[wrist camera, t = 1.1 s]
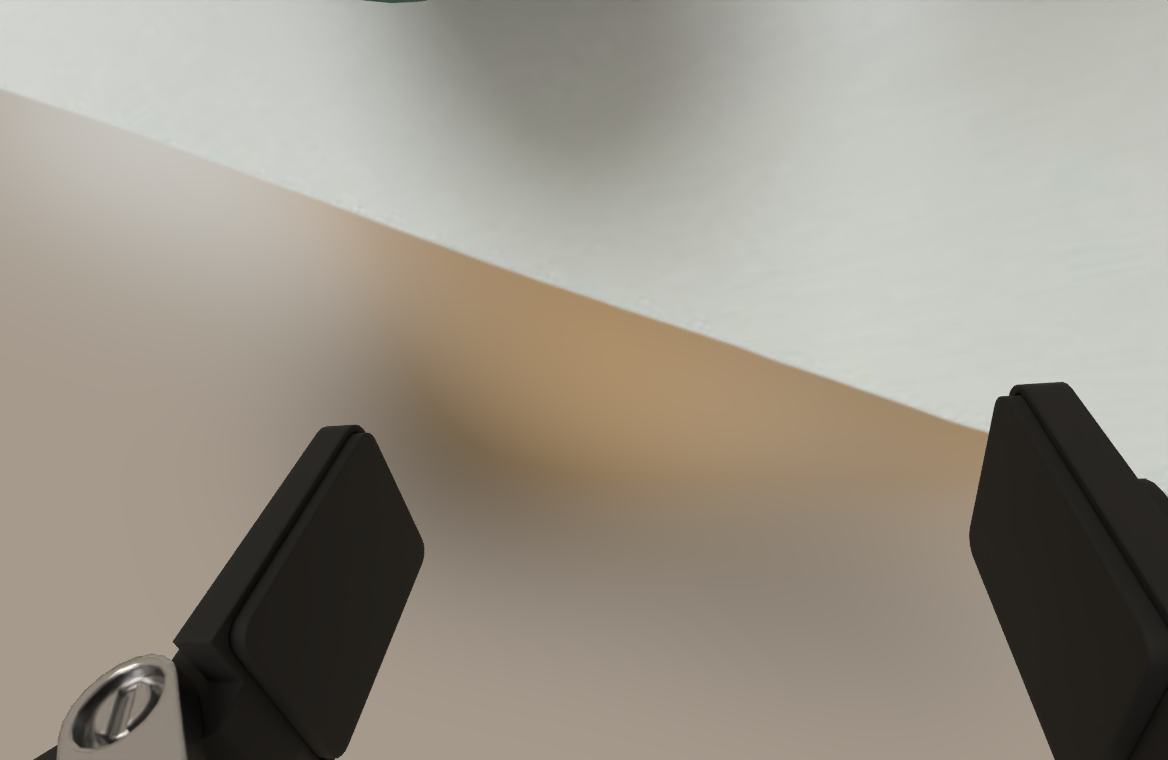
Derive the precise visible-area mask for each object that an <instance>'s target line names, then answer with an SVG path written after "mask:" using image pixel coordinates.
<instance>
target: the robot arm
mask: <svg viewBox="0 0 1168 760" xmlns="http://www.w3.org/2000/svg"><path fill="white" fill-rule="evenodd" d="M969 538H970V539H969V540H970V547H971V551H972V555H973V558H974V560H975V563H976V565H977V568H978V570H979V573H980V575H981V578H982V580H983V583H984V585H985V588H986V590H987V593H988V595H989V597H990V600H991V602H992V605H993V608H994V610H995V612H996V615H997V617H998V620H999V622H1000V625H1001V627H1002V630H1003V632H1004V635H1005V637H1006V640H1007V642H1008V644H1009V647H1010V650H1011V652H1012V654H1013V657H1014V659H1015V662H1016V665H1017V667H1018V669H1019V672H1020V674H1021V677H1022V679H1023V682H1024V684H1025V687H1026V689H1027V692H1028V694H1029V696H1030V699H1031V702H1032V704H1033V707H1034V709H1035V712H1036V714H1037V717H1038V719H1039V722H1040V724H1041V726H1042V729H1043V731H1044V734H1045V736H1046V739H1047V741H1048V744H1049V746H1050V749H1051V751H1052V754H1053V756H1054V759H1055V760H1168V497H1167V496H1166V495H1165V493H1164V492H1163V491H1162V490H1161V489H1160V488H1159V487H1158V486H1157V485H1156V484H1155V483H1153V482H1151V481H1149V480H1147V479H1138V478H1137V477H1136V475H1135V474H1134V473H1133V471H1132V470H1131V468H1130V467H1129V466H1128V464H1127V463H1126V462H1125V460H1124V459H1123V458H1122V456H1121V455H1120V453H1119V452H1118V451H1117V449H1116V448H1115V447H1114V445H1113V444H1112V443H1111V441H1110V440H1109V438H1108V437H1107V436H1106V434H1105V433H1104V432H1103V430H1102V429H1101V427H1100V426H1099V425H1098V423H1097V422H1096V421H1095V419H1094V418H1093V417H1092V415H1091V414H1090V412H1089V411H1088V410H1087V408H1086V407H1085V406H1084V404H1083V403H1082V402H1081V400H1080V399H1079V397H1078V396H1077V395H1076V393H1075V392H1074V391H1073V389H1072V388H1071V387H1070V386H1069V385H1068V384H1067V383H1064V382H1055V383H1038V384H1022V385H1016V386H1014V387H1013V388H1012V389H1011V391H1010V394H1009V396H1001V397H998V399H997V400H996V403H995V406H994V411H993V416H992V421H991V426H990V431H989V436H988V441H987V447H986V451H985V456H984V462H983V466H982V471H981V476H980V481H979V486H978V491H977V496H976V501H975V506H974V511H973V515H972V520H971V525H970V533H969ZM423 559H424V543H423V540H422V538H421V536H420V534H419V531H418V529H417V527H416V525H415V523H414V521H413V519H412V517H411V515H410V512H409V510H408V508H407V506H406V504H405V502H404V500H403V497H402V495H401V493H400V491H399V489H398V487H397V485H396V482H395V480H394V478H393V476H392V474H391V472H390V470H389V468H388V466H387V463H386V461H385V459H384V457H383V455H382V453H381V451H380V449H379V446H378V444H377V442H376V440H375V438H374V437H373V435H371V434H370V433H366V432H365V431H364V429H363V428H361V427H360V426H359V425H344V426H328V427H324V428H321V429H320V431H318V433H317V434H316V435H315V437H314V438H313V440H312V441H311V443H310V444H309V445H308V447H307V448H306V450H305V451H304V453H303V454H302V456H301V457H300V458H299V460H298V461H297V463H296V464H295V466H294V467H293V469H292V470H291V472H290V473H289V474H288V476H287V477H286V479H285V480H284V482H283V483H282V485H281V486H280V487H279V489H278V490H277V492H276V493H275V495H274V496H273V497H272V499H271V500H270V502H269V503H268V505H267V506H266V508H265V509H264V511H263V512H262V513H261V515H260V516H259V518H258V519H257V521H256V522H255V523H254V525H253V527H252V528H251V529H250V531H249V532H248V534H247V535H246V536H245V538H244V540H243V541H242V542H241V544H240V545H239V547H238V548H237V549H236V551H235V553H234V554H233V555H232V557H231V558H230V560H229V561H228V563H227V564H226V565H225V567H224V568H223V570H222V571H221V573H220V574H219V575H218V577H217V578H216V580H215V581H214V583H213V584H212V586H211V587H210V589H209V590H208V591H207V593H206V594H205V596H204V597H203V599H202V600H201V601H200V603H199V605H198V606H197V607H196V609H195V610H194V612H193V613H192V614H191V616H190V617H189V619H188V620H187V622H186V623H185V625H184V626H183V627H182V629H181V630H180V632H179V633H178V635H177V636H176V638H175V639H174V641H173V643H174V644H175V645H176V646H177V647H178V648H179V651H178V652H177V653H176V655H175V656H174V658H173V659H172V661H171V660H170V659H168V658H167V657H166V656H163V655H155V654H149V655H144V656H139V657H135V658H133V659H130V660H128V661H126V662H123V663H121V664H119V665H117V666H116V667H114V668H113V669H111V670H110V671H108V672H106V673H105V674H103V675H102V676H100V677H99V678H98V679H97V680H96V681H95V682H94V683H93V684H91V685H90V686H89V687H88V688H87V689H86V690H85V691H84V692H83V693H82V694H81V695H80V697H79V698H78V699H77V700H76V702H75V703H74V704H73V705H72V706H71V708H70V710H69V712H68V713H67V716H66V717H65V719H64V721H63V722H62V725H61V729H60V733H59V737H58V745H57V746H55V747H53V748H52V749H50V750H48V751H47V752H46V753H44V754H42V755H40V756H39V757H37V758H36V759H34V760H335V758H339V757H340V756H342V754H343V753H344V752H345V751H346V748H347V746H348V744H349V742H350V740H351V737H352V735H353V732H354V730H355V727H356V725H357V722H358V720H359V717H360V715H361V713H362V710H363V708H364V705H365V703H366V700H367V698H368V695H369V693H370V690H371V688H372V686H373V683H374V680H375V678H376V675H377V673H378V671H379V668H380V666H381V663H382V661H383V658H384V656H385V654H386V651H387V649H388V646H389V644H390V641H391V639H392V636H393V634H394V631H395V629H396V627H397V624H398V621H399V619H400V617H401V614H402V612H403V609H404V607H405V604H406V602H407V599H408V597H409V595H410V592H411V590H412V587H413V585H414V582H415V580H416V577H417V575H418V572H419V570H420V567H421V565H422V562H423Z"/></svg>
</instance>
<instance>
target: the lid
mask: <svg viewBox="0 0 1168 760" xmlns="http://www.w3.org/2000/svg"><path fill="white" fill-rule="evenodd" d="M366 1H376V2H386V3H401V2H418V1H426V0H366Z"/></svg>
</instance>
